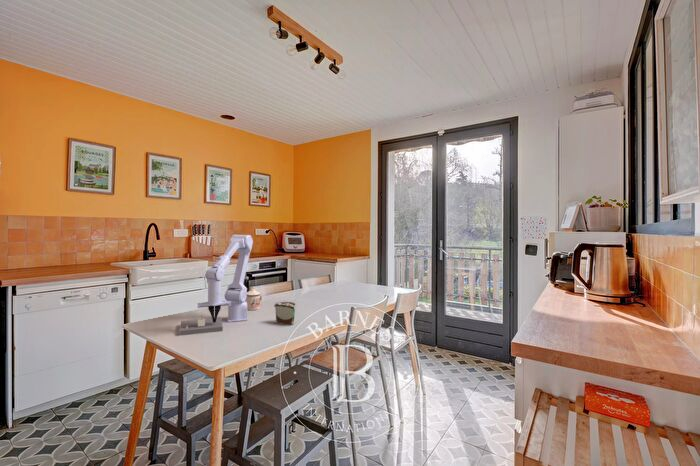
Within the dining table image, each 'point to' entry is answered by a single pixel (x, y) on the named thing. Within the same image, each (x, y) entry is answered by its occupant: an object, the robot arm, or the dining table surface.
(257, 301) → the teacup with lid
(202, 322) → the fader knob
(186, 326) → the console
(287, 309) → the food container
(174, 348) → the dining table surface
